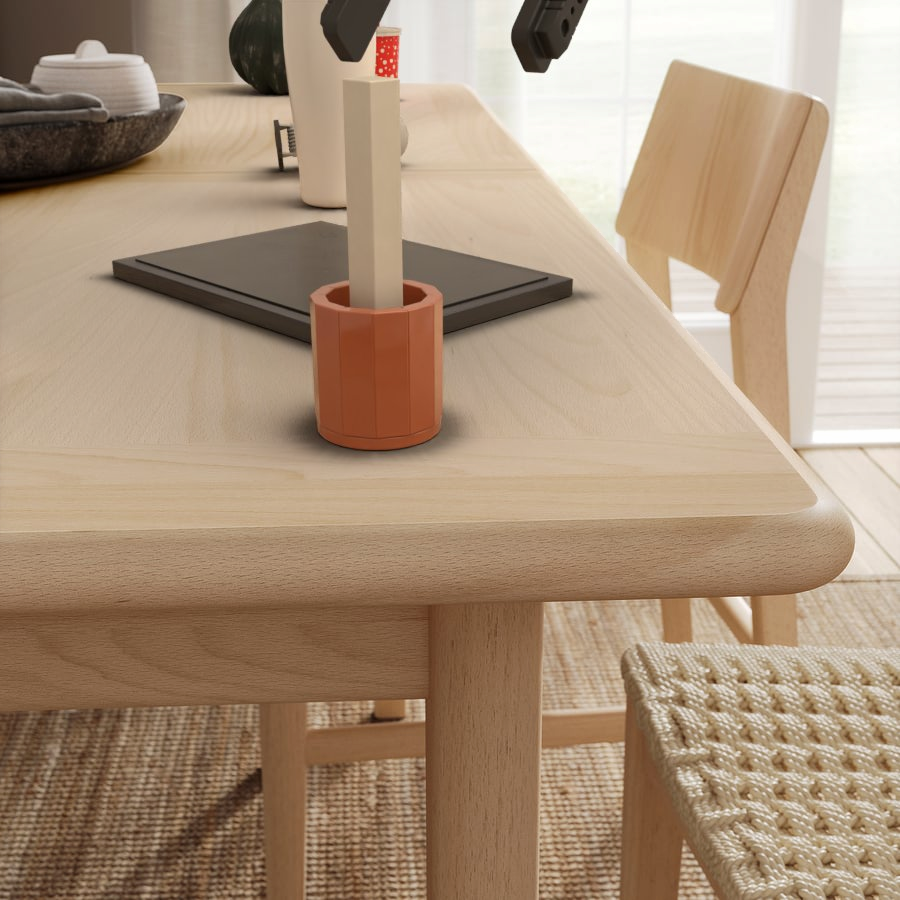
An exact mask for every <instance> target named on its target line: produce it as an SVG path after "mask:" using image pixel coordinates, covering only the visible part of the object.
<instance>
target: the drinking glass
mask: <svg viewBox="0 0 900 900" xmlns="http://www.w3.org/2000/svg"><path fill="white" fill-rule="evenodd" d="M327 1H328V0H282V27H283V46H284V57H285V66H286V74H287V82H288V89H289V91H288V96H289V104H290V111H291V118H292V123H293V127H294V135H295V142H296V150H297V157H296V158H297V166H298V174H299V175H298V177H299V193H300V198H301V200H302V201H303V202H304V203H305V204H306V205H308V206H313V207H317V208H327V209H328V208H329V209H330V208H331V209H333V208H334V209H336V208H337V209H338V208H347V199H346V169H345V139H344V109H343V79H344V78H353V77H364V76H375V65H376V31H375V33H374V35H373V37H372V39H371V41H370V43H369V45H368V47H367V49H366V52H365V54H364V56H363V58H362V59H361V61H359V62H343V61H340V60H339V58H338V57H337V55H336V54H335V52H334V51H333V49H332V47H331V46H330V44H329V43H328V41H327V40H326V38H325V36H324V34H323V28H322V26H321V24H320V18H321V13H322V11H323V9H324V7H325V5H326V3H327Z"/></svg>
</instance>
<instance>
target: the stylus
mask: <svg viewBox="0 0 900 900" xmlns="http://www.w3.org/2000/svg"><path fill="white" fill-rule="evenodd" d="M343 109H344V139H345V169H346V199H347V207H346V227H347V229H348V259H349V289H350V307H352V308H365V309H382V308H395V307H403V272H402V239H403V221H402V220H403V215H402V214H403V213H402V209H403V208H402V156H401V140H400V117H401V83H400V79H399V77H398V78H390V77H380V76H364V77H353V78H344V79H343Z"/></svg>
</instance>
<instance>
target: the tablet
mask: <svg viewBox="0 0 900 900" xmlns="http://www.w3.org/2000/svg"><path fill="white" fill-rule="evenodd" d="M111 266H112V274H113V277H114V278H117V279H120V280H123V281H125V282H129V283H131V284H135V285H138V286H141V287H144V288H146V289H149V290H152V291H155V292H158V293H161V294H165V295H168V296H170V297H172V298H173V297H174V298H176V299H179V300H182V301H186V302H188V303H191V304H194V305H196V306H200V307H202V308H206V309H209V310H212V311H214V312H218V313H221V314H224V315H226V316H229V317H233V318H236V319H238V320H240V321H241V320H242V321H244V322H247V323H250V324H254V325H255V326H259V327H263V328H265V329H268V330H271V331H274V332H276V333H279V334H283V335H285V336H287V337H288V336H289V337H291V338H294V339H297V340H300V341H303V342H306V343H309V344H312V336H311V315H310V295H311V294H312V293H313V292H315V291H316V290H318V289H319V288H320V287H322V286H325V285H329V284H334V283H338V282H342V281H346V280H347V281H348V280H349V259H348V229H347V225H342V224H338V223H333V222H328V221H324V220H317V221H313V222H307V223H303V224H302V223H301V224H297V225H291V226H286V227H281V228H275V229H270V230H266V231H264V230H263V231H260V232H253V233H249V234H243V235H239V236H234V237H229V238H223V239H218V240H213V241H207V242H203V243H196V244H191V245H187V246H181V247H175V248H171V249H165V250H160V251H156V252H150V253H145V254H139V255H134V256H129V257H124V258H119V259H112V261H111ZM402 272H403V280H413V281H416V282H420V283H424V284H428V285H432V286H434V287H435V288H436V289H437V290H438V291H439V292H440V293H441V294H442V295H443V335H444V334H447V333H451V332H454V331H457V330H460V329H464V328H468V327H471V326H475V325H477V324H480V323H484V322H487V321H491V320H494V319H497V318H501V317H504V316H507V315H511V314H514V313H517V312H521V311H525V310H528V309H531V308H534V307H538V306H541V305H544V304H548V303H552V302H554V301H557V300H561V299H564V298H567V297H571V296H573V293H574V291H573V289H574V279H573V278H572V277H568V276H564V275H560V274H555V273H550V272H547V271H542V270H538V269H533V268H529V267H525V266H520V265H517V264H511V263H507V262H502V261H499V260H494V259H489V258H485V257H482V256H477V255H472V254H468V253H464V252H460V251H455V250H451V249H446V248H443V247H437V246H433V245H428V244H425V243H420V242H415V241H411V240H407V239H403V238H402Z"/></svg>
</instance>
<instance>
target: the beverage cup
mask: <svg viewBox="0 0 900 900" xmlns="http://www.w3.org/2000/svg"><path fill="white" fill-rule="evenodd" d="M380 24H381V22H380V23H379V25H378V27H377V29H376V65H375V76H380V77H390V78H398V79H399V58H400V36H401V35H402V31H403V29H402V28H401V27H397V26H396V27H394V26H386V25H380Z"/></svg>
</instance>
